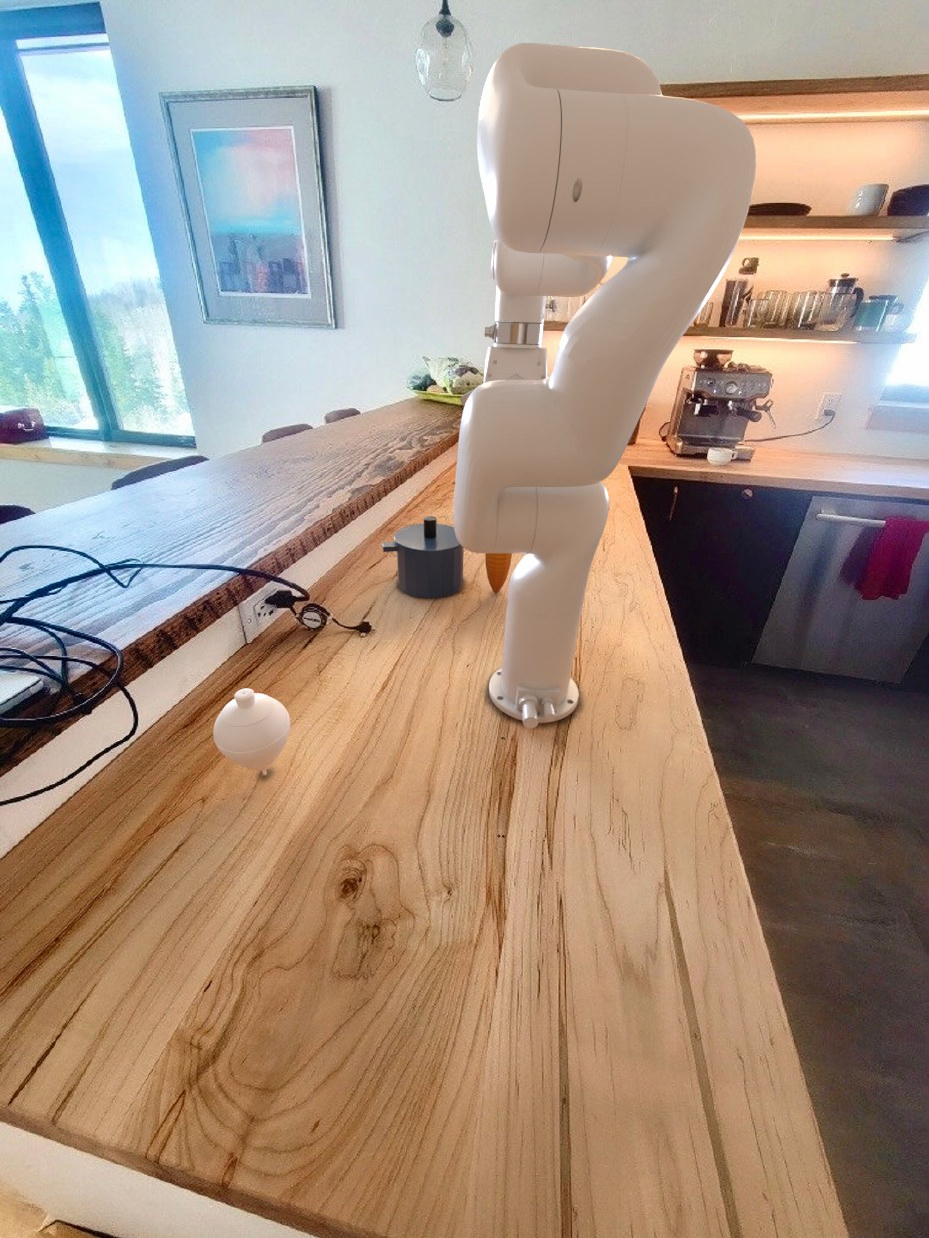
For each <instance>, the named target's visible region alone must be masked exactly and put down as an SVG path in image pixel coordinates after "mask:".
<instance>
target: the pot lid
mask: <svg viewBox="0 0 929 1238" xmlns="http://www.w3.org/2000/svg"><path fill="white" fill-rule="evenodd" d="M437 520H438V519H437V517H436V516H433V515H431V516H429V515H427V516H424V517H423V523H418V524H412V525H411V524H410V525H407V526H405V527H402V528H400V529H399V530H397V531H396V532H395V533H394V534H393V542H395V543H396V544H397V545H398V546H400V547H402V548H404V549H407V550H410V551H415V552H423V553H439V552H446V551H451V550H454V549H457V548H459V547H461V544H460V543H459V542H458V540H457V538H456V535H455V531H454V526H453V525H452V526H451V525H448V524H444V523H443V524H442V523H437V522H438V521H437Z"/></svg>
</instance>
